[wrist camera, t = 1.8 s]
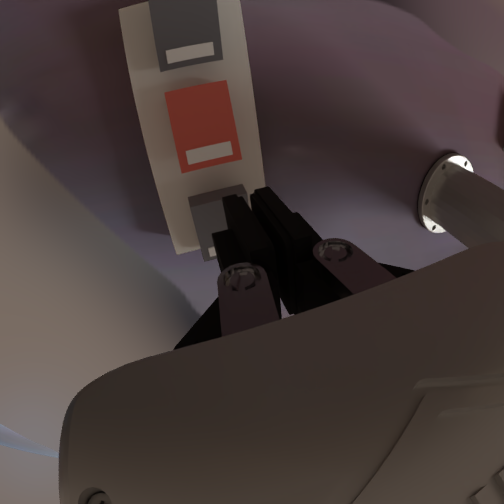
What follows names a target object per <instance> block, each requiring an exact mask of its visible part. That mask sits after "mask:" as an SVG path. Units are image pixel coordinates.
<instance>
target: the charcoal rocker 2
mask: <svg viewBox="0 0 504 504" xmlns="http://www.w3.org/2000/svg"><path fill="white" fill-rule="evenodd" d="M233 194H237V196H238V197H240V196H243V198H244V199H245V201H246V203H247V204H248V195H247V192H246V190H245V188H244V186H243V184H239V185H235V186H230V187H226V188H222V189H218V190H214V191H210V192H206V193H202V194H198V195H194V196H190V197H188V201H189V206H190V210H191V214H192V218H193V221H194V225H195V229H196V233H197V237H198V240H199V244H200V248H201V251H202V255H203V259H204V262H205V261H209V260H213V259H216V258H217V256H216V252H215V248H214V243H213V239H212V233H215V232H219V231H223V230H227V229H228V228H227V223H226V218H225V212H224V207H223V202H222V197H225V196H229V195H233ZM248 206H249V205H248Z"/></svg>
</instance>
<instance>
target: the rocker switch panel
mask: <svg viewBox="0 0 504 504" xmlns="http://www.w3.org/2000/svg"><path fill="white" fill-rule="evenodd" d="M217 7H218V17H219V26H220V35H221V44H222V53H223V60H219V61H213V62H207V63H201V64H196V65H191V66H186V67H181V68H176V69H172V70H168V71H163V72H160V68H159V62H158V57H157V51H156V46H155V40H154V34H153V28H152V22H151V16H150V9H149V3H148V2H143V3H139V4H136V5H132V6H128V7H125V8H121V9H118V11H119V18H120V24H121V30H122V37H123V42H124V48H125V54H126V59H127V65H128V70H129V75H130V80H131V85H132V90H133V94H134V99H135V104H136V108H137V113H138V117H139V121H140V125H141V130H142V134H143V138H144V142H145V146H146V150H147V154H148V158H149V162H150V165H151V169H152V173H153V177H154V180H155V184H156V188H157V191H158V195H159V198H160V202H161V205H162V209H163V212H164V215H165V219H166V222H167V225H168V229H169V232H170V235H171V238H172V241H173V245H174V248H175V251H176V254H177V255H179V254H182V253H186V252H190V251H194V250H197V249H201V248H200V244H199V240H198V237H197V233H196V229H195V225H194V221H193V218H192V214H191V210H190V206H189V201H188V197H190V196H194V195H198V194H202V193H206V192H210V191H214V190H218V189H222V188H226V187H230V186H235V185H239V184H243V186H244V188H245V190H246V192H247V195H248V205H249V207H250V209H251V202H250V194H253V193H254V190H255V189H259V188H263V187H265V178H264V170H263V162H262V154H261V146H260V138H259V131H258V123H257V116H256V108H255V101H254V93H253V86H252V79H251V72H250V65H249V58H248V51H247V44H246V38H245V31H244V25H243V18H242V12H241V5H240V0H217ZM223 80H227V85H228V90H229V95H230V100H231V105H232V110H233V115H234V120H235V125H236V130H237V135H238V140H239V145H240V151H241V156H242V160H237V161H233V162H228V163H224V164H219V165H215V166H211V167H207V168H202V169H198V170H194V171H190V172H186V173H181V168H180V164H179V160H178V155H177V151H176V146H175V142H174V137H173V133H172V128H171V123H170V118H169V114H168V109H167V104H166V99H165V94H164V93H165V92H169V91H173V90H177V89H182V88H186V87H191V86H196V85H201V84H206V83H211V82H217V81H223ZM251 210H252V209H251Z"/></svg>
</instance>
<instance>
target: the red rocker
mask: <svg viewBox="0 0 504 504" xmlns="http://www.w3.org/2000/svg"><path fill="white" fill-rule="evenodd" d="M164 94H165V99H166V104H167V109H168V114H169V118H170V123H171V128H172V133H173V137H174V142H175V146H176V151H177V155H178V160H179V164H180V168H181V173H186V172H190V171H194V170H198V169H202V168H207V167H211V166H215V165H219V164H224V163H228V162H233V161H237V160H242V156H241V151H240V145H239V140H238V135H237V130H236V125H235V120H234V115H233V110H232V105H231V100H230V95H229V90H228V85H227V80H223V81H217V82H211V83H206V84H201V85H196V86H191V87H186V88H182V89H177V90H173V91H169V92H165V93H164Z"/></svg>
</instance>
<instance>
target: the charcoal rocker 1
mask: <svg viewBox="0 0 504 504" xmlns="http://www.w3.org/2000/svg"><path fill="white" fill-rule="evenodd" d="M148 3H149V9H150V16H151V22H152V28H153V34H154V40H155V46H156V51H157V57H158V62H159V68H160V72H163V71H168V70H172V69H176V68H181V67H186V66H191V65H196V64H201V63H207V62H213V61H219V60H223V53H222V44H221V35H220V26H219V17H218V7H217V0H148Z"/></svg>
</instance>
